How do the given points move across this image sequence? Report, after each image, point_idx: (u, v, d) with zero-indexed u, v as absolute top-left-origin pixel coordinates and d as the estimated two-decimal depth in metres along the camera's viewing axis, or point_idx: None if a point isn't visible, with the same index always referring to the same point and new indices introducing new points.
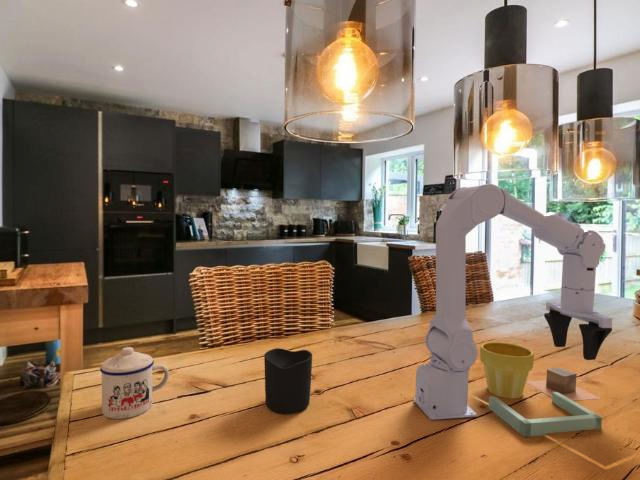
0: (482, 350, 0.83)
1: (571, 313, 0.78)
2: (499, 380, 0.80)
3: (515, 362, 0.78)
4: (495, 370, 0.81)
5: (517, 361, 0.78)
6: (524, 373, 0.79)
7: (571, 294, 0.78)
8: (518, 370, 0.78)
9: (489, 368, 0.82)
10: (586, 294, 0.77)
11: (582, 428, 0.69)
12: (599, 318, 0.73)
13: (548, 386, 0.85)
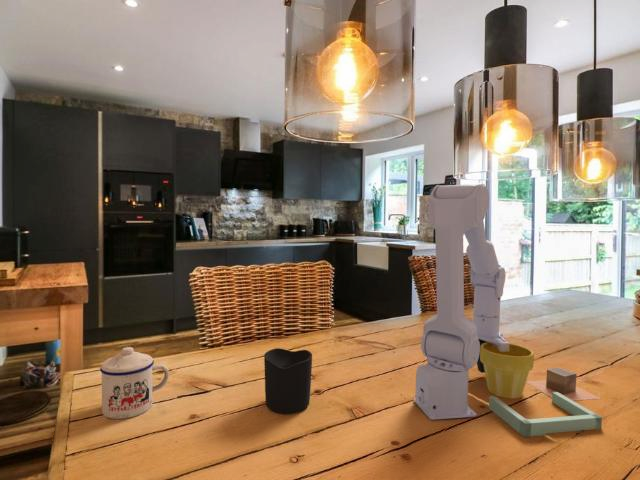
0: (482, 350, 0.83)
1: (479, 337, 0.89)
2: (499, 380, 0.80)
3: (516, 362, 0.78)
4: (495, 370, 0.81)
5: (517, 361, 0.78)
6: (524, 373, 0.79)
7: (479, 320, 0.89)
8: (518, 370, 0.78)
9: (489, 368, 0.82)
10: (491, 321, 0.88)
11: (582, 428, 0.69)
12: (498, 343, 0.84)
13: (548, 386, 0.85)
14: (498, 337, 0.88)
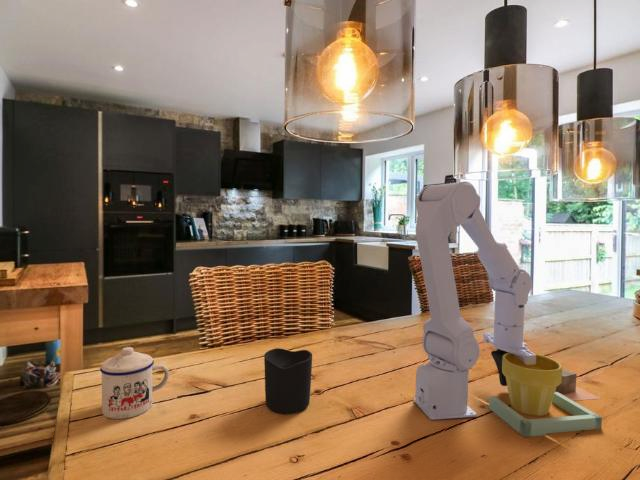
0: (505, 362, 0.76)
1: (501, 348, 0.81)
2: (524, 396, 0.73)
3: (544, 376, 0.71)
4: (520, 385, 0.74)
5: (546, 376, 0.71)
6: (552, 388, 0.72)
7: (501, 330, 0.81)
8: (546, 385, 0.71)
9: (513, 382, 0.75)
10: (514, 330, 0.80)
11: (582, 428, 0.69)
12: (524, 355, 0.77)
13: None
14: (522, 348, 0.81)
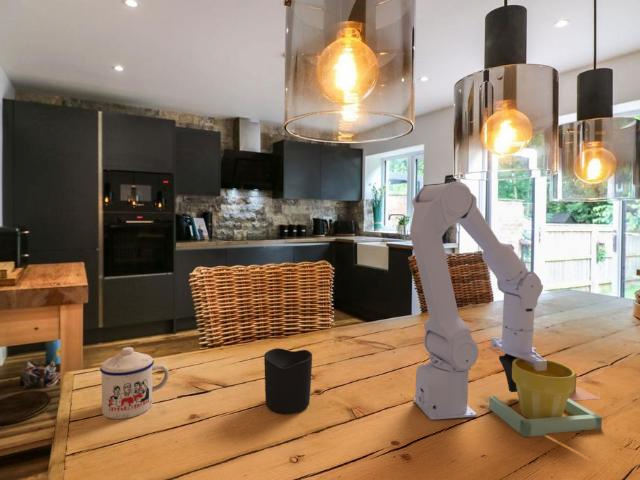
0: (515, 368, 0.73)
1: (510, 353, 0.78)
2: (536, 404, 0.70)
3: (557, 384, 0.68)
4: (532, 392, 0.70)
5: (559, 383, 0.68)
6: (565, 396, 0.69)
7: (510, 334, 0.78)
8: (560, 393, 0.68)
9: (524, 389, 0.72)
10: (524, 335, 0.77)
11: (582, 428, 0.69)
12: (534, 361, 0.74)
13: None
14: (532, 353, 0.78)
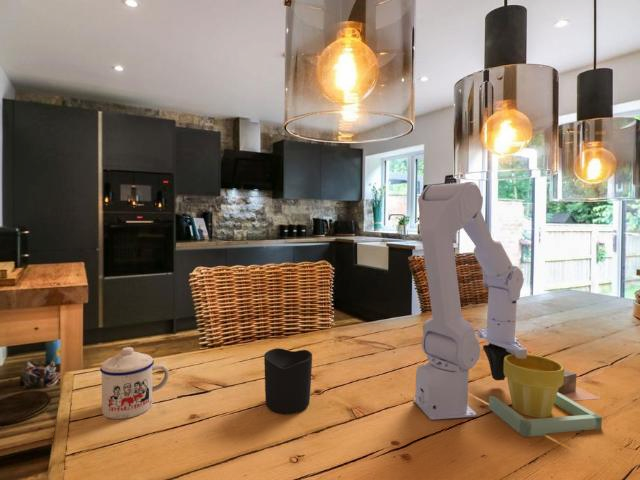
0: (507, 364, 0.76)
1: (493, 343, 0.83)
2: (527, 397, 0.73)
3: (546, 377, 0.71)
4: (522, 386, 0.73)
5: (548, 377, 0.71)
6: (555, 389, 0.72)
7: (494, 325, 0.84)
8: (549, 387, 0.71)
9: (515, 384, 0.74)
10: (506, 325, 0.82)
11: (582, 428, 0.69)
12: (515, 349, 0.79)
13: None
14: (514, 343, 0.83)
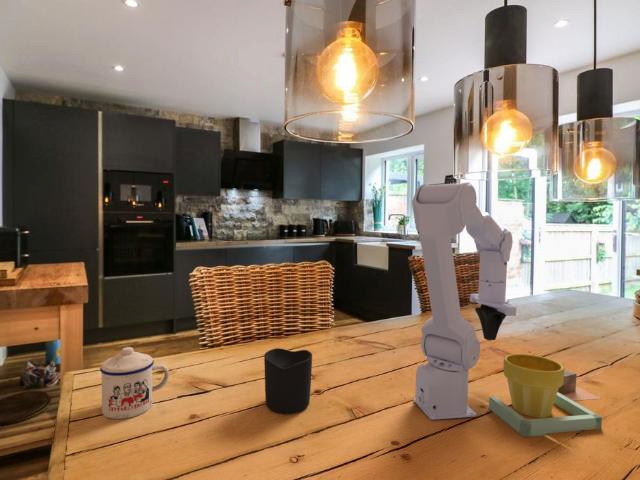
0: (507, 364, 0.76)
1: (485, 303, 0.87)
2: (527, 397, 0.73)
3: (546, 377, 0.71)
4: (522, 386, 0.73)
5: (548, 377, 0.71)
6: (555, 389, 0.72)
7: (485, 286, 0.87)
8: (549, 386, 0.71)
9: (515, 384, 0.74)
10: (497, 286, 0.86)
11: (582, 428, 0.69)
12: (505, 307, 0.82)
13: None
14: (504, 303, 0.86)
